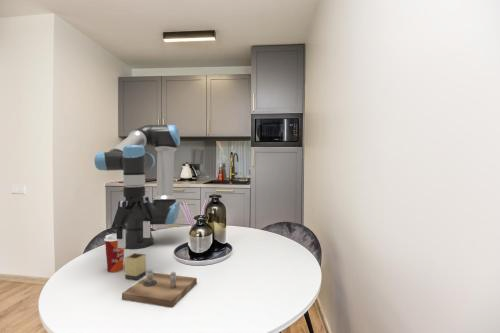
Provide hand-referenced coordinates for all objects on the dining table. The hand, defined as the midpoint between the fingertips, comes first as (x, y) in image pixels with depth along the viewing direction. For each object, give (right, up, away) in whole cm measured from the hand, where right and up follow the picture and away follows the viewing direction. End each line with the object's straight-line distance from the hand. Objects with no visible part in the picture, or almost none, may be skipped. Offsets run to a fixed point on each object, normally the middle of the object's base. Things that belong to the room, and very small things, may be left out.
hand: (134, 242), depth 99 cm
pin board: (+14, -13, -11) cm, 22 cm away
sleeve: (0, -13, 0) cm, 13 cm away
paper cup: (-11, -14, +8) cm, 19 cm away
